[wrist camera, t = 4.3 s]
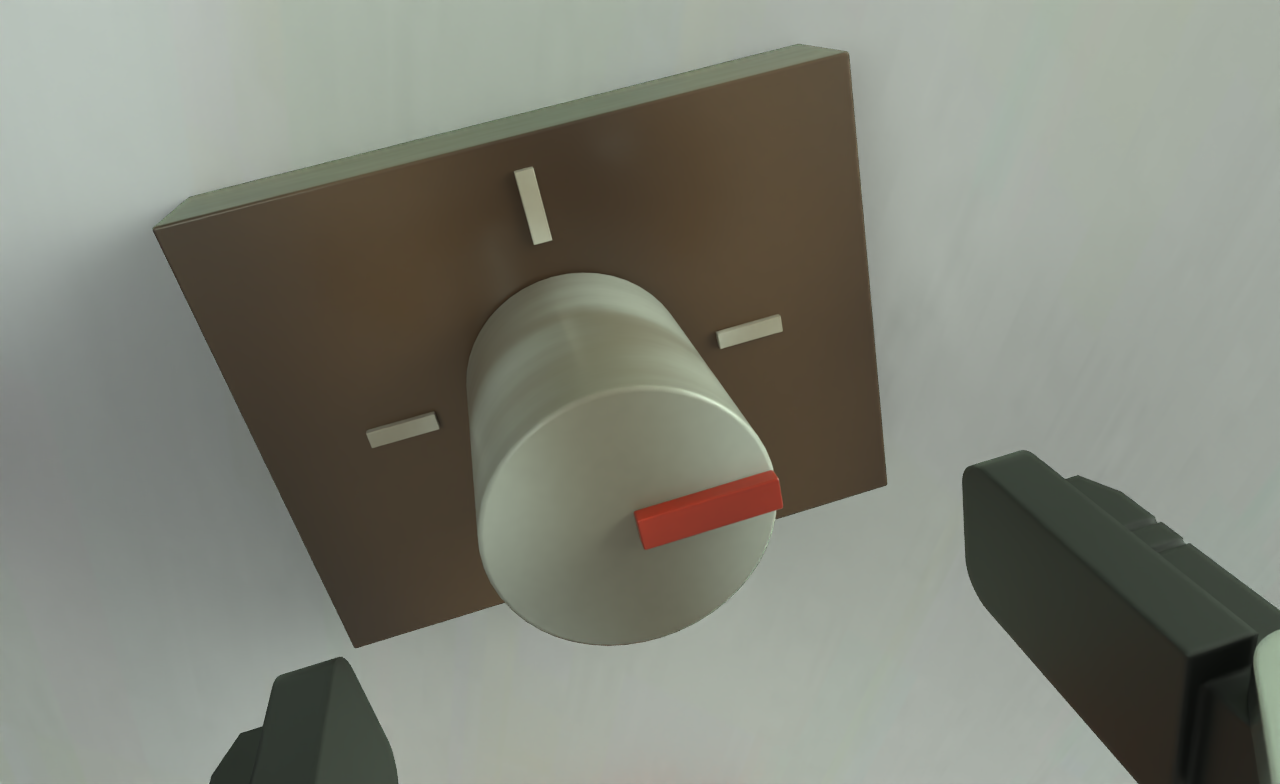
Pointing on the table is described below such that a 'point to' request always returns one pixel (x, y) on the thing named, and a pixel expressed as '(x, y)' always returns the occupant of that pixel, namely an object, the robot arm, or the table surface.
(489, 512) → the dial
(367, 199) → the dial panel
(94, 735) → the table surface
